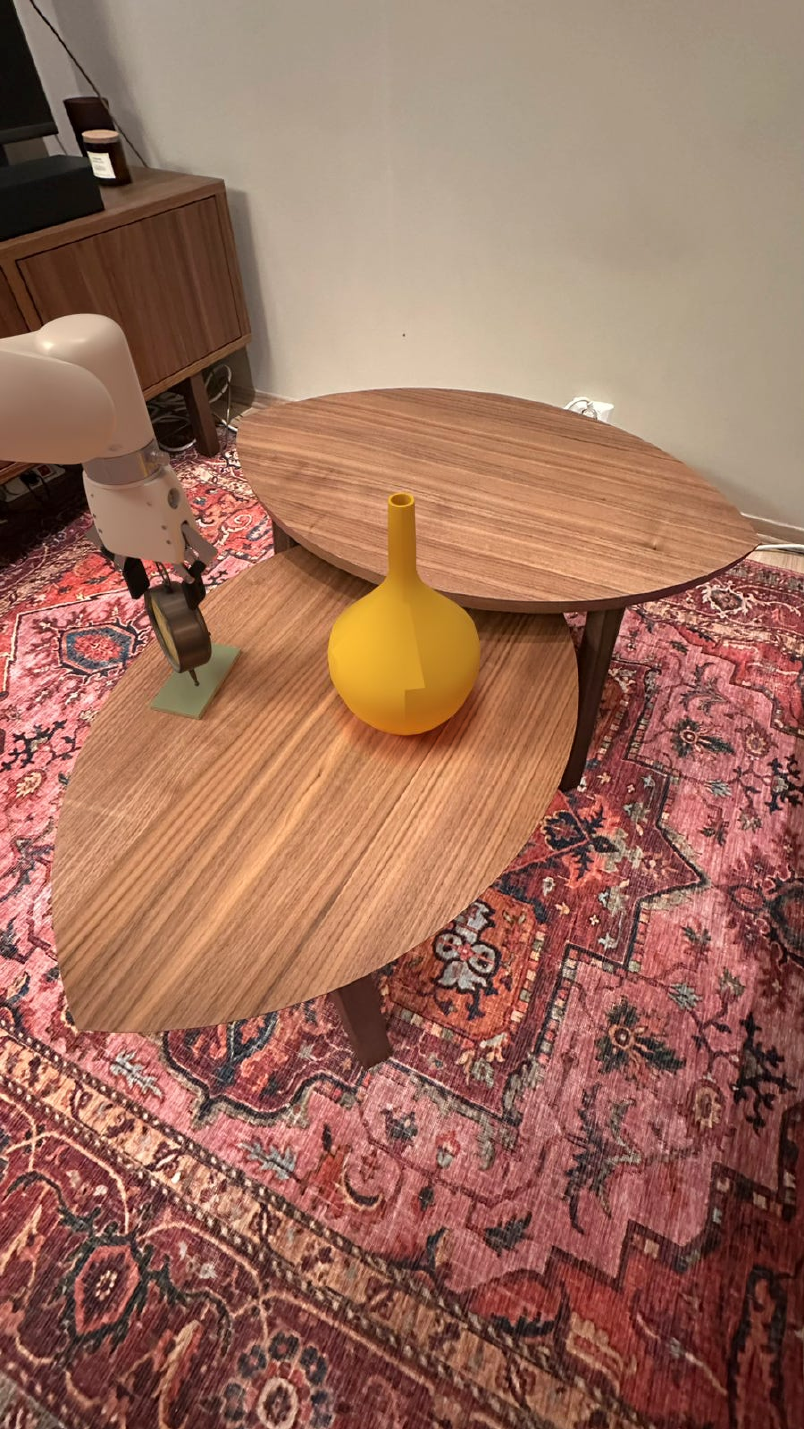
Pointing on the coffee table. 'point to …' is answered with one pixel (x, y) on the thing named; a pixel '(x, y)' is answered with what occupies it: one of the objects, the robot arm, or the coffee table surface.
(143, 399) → the robot arm
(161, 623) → the alarm clock
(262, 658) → the coffee table surface
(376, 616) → the vase
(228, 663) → the green rectangular slab
